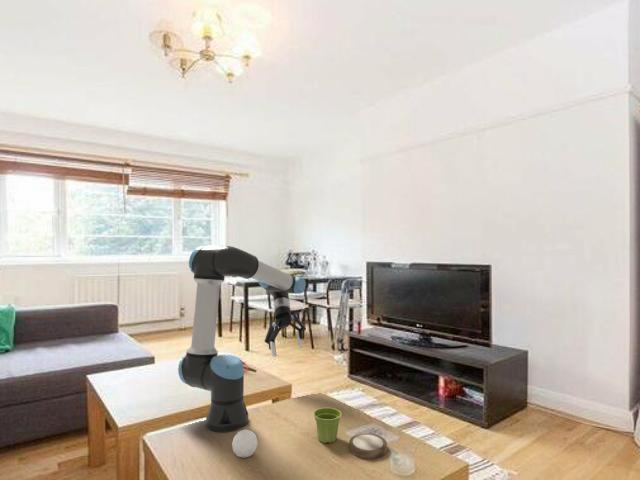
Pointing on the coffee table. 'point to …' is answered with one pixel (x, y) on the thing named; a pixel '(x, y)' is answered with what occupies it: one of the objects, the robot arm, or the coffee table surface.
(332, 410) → the plant pot
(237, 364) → the robot arm
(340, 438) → the coffee table surface
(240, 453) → the geometric ball
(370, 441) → the pedestal
